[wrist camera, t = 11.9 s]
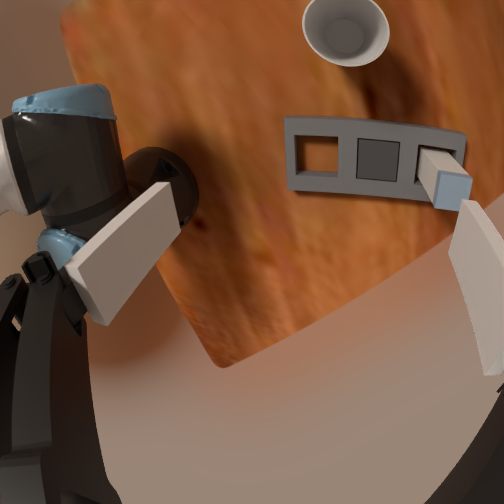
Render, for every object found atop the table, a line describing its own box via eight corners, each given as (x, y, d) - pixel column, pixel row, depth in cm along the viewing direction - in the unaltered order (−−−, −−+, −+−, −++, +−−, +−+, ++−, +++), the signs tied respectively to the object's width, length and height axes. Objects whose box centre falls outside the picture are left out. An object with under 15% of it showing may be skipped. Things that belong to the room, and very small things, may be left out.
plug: (416, 174, 36) (434, 208, 28) (419, 146, 34) (440, 174, 26) (442, 177, 35) (465, 212, 27) (446, 150, 33) (472, 179, 25)
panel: (289, 184, 43) (287, 189, 41) (286, 115, 37) (283, 118, 36) (451, 198, 36) (454, 204, 35) (461, 131, 31) (466, 135, 29)
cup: (389, 50, 28) (405, 46, 20) (334, 76, 32) (333, 80, 25) (353, -3, 25) (356, -23, 17) (298, 24, 29) (285, 13, 22)
